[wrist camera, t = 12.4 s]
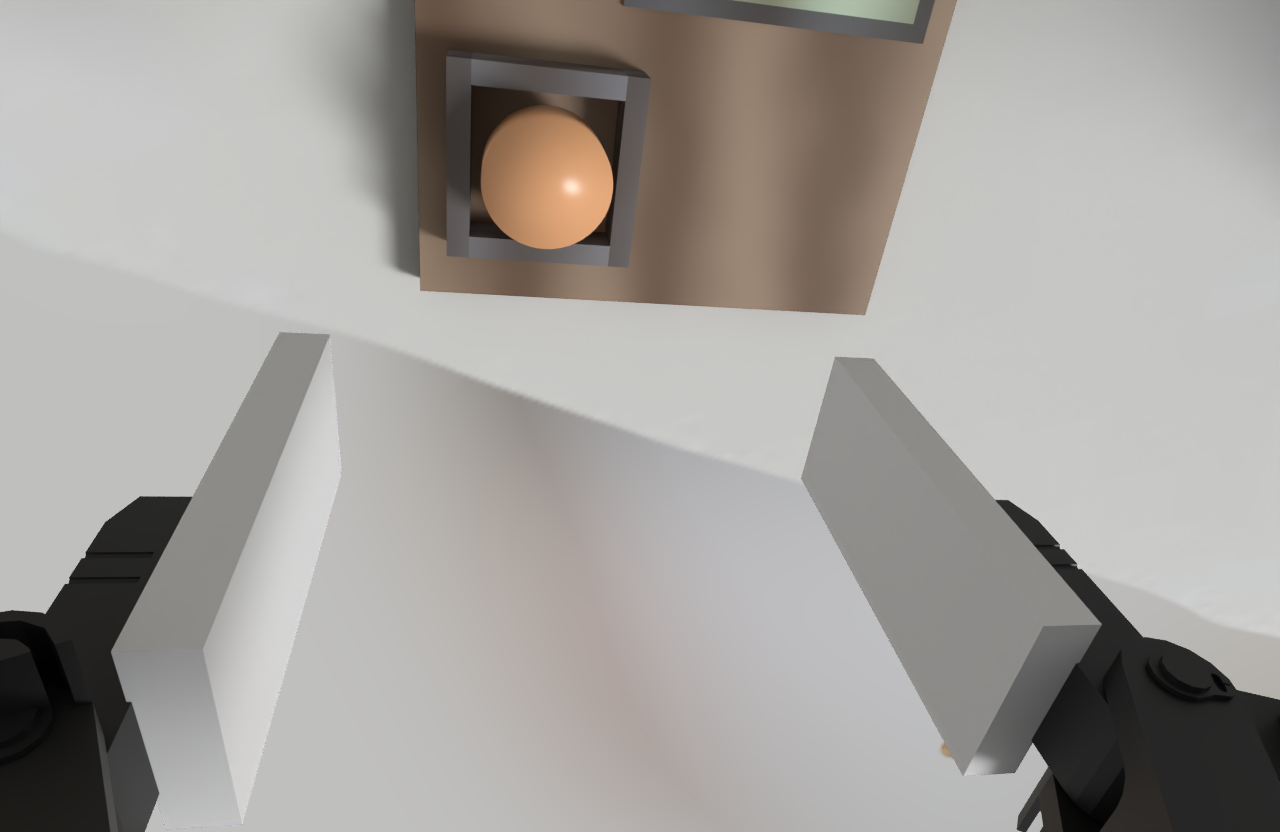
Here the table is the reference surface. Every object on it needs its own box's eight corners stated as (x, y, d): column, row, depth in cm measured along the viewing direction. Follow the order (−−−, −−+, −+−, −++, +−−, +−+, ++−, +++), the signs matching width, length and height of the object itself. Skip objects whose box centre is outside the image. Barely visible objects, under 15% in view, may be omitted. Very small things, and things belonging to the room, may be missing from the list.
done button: (612, 111, 28) (620, 124, 26) (600, 234, 30) (606, 253, 28) (483, 98, 27) (482, 110, 25) (480, 226, 29) (479, 244, 27)
